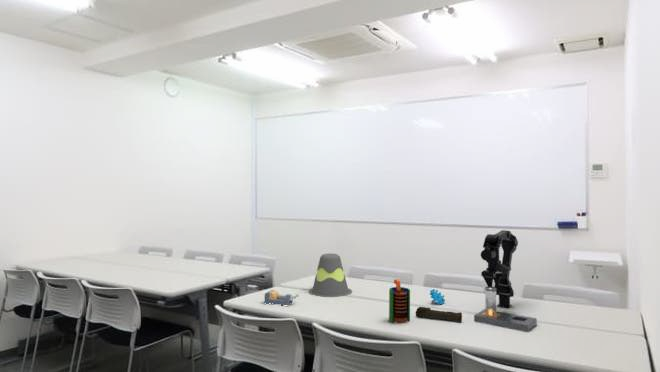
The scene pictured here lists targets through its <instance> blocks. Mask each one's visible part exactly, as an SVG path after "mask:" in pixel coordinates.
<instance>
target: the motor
mask: <svg viewBox="0 0 660 372" xmlns="http://www.w3.org/2000/svg"><path fill="white" fill-rule="evenodd" d="M393 284H395V286H394V287H393V286H392V287H390V288H388V289H389V291H388V292H389V293H388V295H389V299H388V301H389V302H388V303H389V305H388V310H389V312H388V321H389V322H390V323H391V324H393V323H396V324H407V323H408V322H410V321H411V289H410V288H409V287H404V286H403V287H402V285H401V280H400V279H397V278H396V279H393Z"/></svg>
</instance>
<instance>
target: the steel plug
mask: <svg viewBox="0 0 660 372" xmlns="http://www.w3.org/2000/svg"><path fill="white" fill-rule="evenodd" d="M484 291H485V292H484V295H485V297H484V298H485V302H484V303H485V310H486V314H487V315H491V316H494V315H496V311H497V295H496V288H495V287H494V286H492V287H488V286H485V288H484Z"/></svg>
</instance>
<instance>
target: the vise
mask: <svg viewBox="0 0 660 372" xmlns="http://www.w3.org/2000/svg"><path fill="white" fill-rule="evenodd" d="M297 297H299V294H298V293H296V294H295V295H292V294H288V293H287V294H280V293H279V292H278V291H277V290H276V289H271V290H269V291H267V292H265V294H264V303H266V304H269V303H273V304H272V305H275V304H282V305H289V306H290V303H292V302H293V303H294V300H296V299H297ZM293 303H292V304H293ZM266 304H265V305H266ZM269 305H270V304H269ZM282 305H281V306H282Z"/></svg>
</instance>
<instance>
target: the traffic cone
mask: <svg viewBox="0 0 660 372" xmlns="http://www.w3.org/2000/svg"><path fill="white" fill-rule="evenodd" d="M316 271H317V272H316V274H315V278H314V280H313V281H314V282H313V286H312V288H311V289H309V290H308V294H309V295H311V296H314V295H315V296H314V297H319V296H320V297H322V298H338V297H340V296H341V297H345V296H348V295H351V294H352V293H353V290H352V289H350V288H349V286H348V283H347V279H346V275H345V273H344V272H345V271H344V268H343V264H342V259H341V256H340V255H339V254H337V253H324V254H321V256H319V261H318V265H317V270H316Z"/></svg>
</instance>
